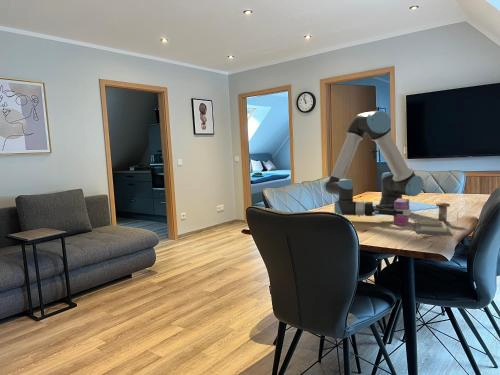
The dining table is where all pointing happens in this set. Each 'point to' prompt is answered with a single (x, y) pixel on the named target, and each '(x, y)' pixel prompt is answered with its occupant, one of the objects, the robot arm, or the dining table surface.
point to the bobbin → (443, 212)
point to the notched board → (432, 227)
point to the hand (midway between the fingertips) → (410, 210)
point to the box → (402, 205)
